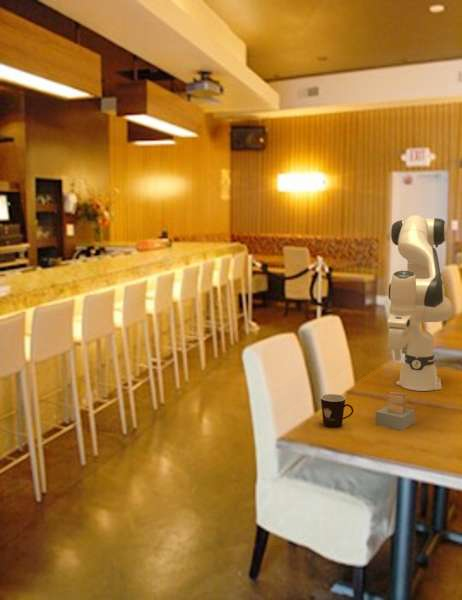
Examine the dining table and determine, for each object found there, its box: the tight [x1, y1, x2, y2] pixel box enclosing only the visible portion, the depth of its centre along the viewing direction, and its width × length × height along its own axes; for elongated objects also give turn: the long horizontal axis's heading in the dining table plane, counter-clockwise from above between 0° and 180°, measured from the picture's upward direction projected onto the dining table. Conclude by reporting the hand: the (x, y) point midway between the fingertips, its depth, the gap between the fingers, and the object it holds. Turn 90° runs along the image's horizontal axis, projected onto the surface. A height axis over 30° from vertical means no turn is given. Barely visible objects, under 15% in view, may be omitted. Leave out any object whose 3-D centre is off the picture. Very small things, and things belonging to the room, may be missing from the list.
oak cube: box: [387, 391, 406, 414], centre depth 212 cm, size 5×5×6 cm
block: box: [375, 404, 416, 432], centre depth 213 cm, size 10×10×5 cm
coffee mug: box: [320, 393, 354, 429], centre depth 210 cm, size 12×9×10 cm
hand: (401, 356), depth 211 cm, fingers open, 8 cm apart
